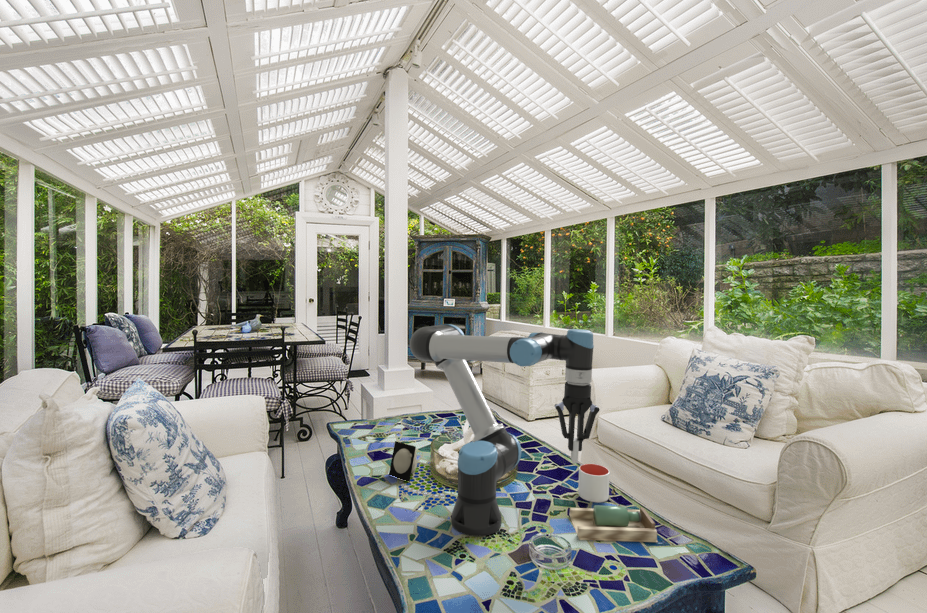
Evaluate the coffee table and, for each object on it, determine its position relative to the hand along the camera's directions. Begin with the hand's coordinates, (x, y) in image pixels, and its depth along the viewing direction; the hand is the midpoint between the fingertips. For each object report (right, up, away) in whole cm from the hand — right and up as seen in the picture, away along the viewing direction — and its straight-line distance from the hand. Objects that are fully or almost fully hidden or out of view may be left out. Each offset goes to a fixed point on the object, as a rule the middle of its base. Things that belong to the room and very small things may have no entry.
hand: (574, 461), depth 132 cm
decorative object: (-55, -18, +36) cm, 68 cm away
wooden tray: (+11, -21, +1) cm, 24 cm away
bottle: (+7, -17, +2) cm, 18 cm away
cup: (+12, -20, +21) cm, 31 cm away
